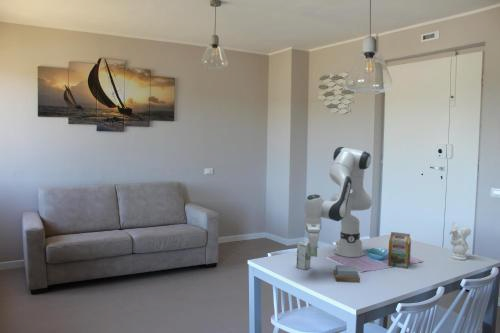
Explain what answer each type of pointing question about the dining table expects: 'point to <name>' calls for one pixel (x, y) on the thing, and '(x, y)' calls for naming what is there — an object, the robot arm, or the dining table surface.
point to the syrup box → (303, 256)
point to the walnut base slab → (346, 278)
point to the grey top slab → (346, 271)
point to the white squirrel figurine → (459, 241)
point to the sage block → (310, 251)
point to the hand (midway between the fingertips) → (312, 251)
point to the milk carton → (399, 250)
